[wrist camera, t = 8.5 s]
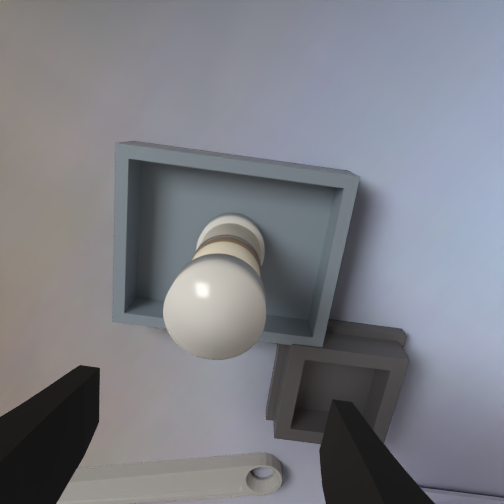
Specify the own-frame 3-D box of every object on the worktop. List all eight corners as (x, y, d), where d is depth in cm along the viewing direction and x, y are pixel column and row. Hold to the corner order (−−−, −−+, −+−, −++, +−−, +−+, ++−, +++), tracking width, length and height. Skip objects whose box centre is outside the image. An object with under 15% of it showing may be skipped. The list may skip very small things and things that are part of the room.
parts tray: (348, 170, 19) (360, 176, 17) (315, 325, 22) (321, 349, 20) (133, 140, 19) (115, 143, 17) (128, 300, 22) (112, 322, 20)
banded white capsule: (268, 216, 20) (272, 274, 12) (260, 277, 21) (258, 365, 13) (203, 208, 19) (165, 261, 12) (198, 269, 21) (160, 353, 13)
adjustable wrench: (280, 443, 26) (282, 465, 24) (282, 511, 28) (283, 536, 26) (-77, 449, 26) (-100, 471, 25) (-50, 516, 28) (-70, 540, 27)
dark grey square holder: (401, 328, 22) (419, 354, 20) (373, 424, 24) (386, 457, 22) (283, 313, 22) (285, 337, 19) (265, 410, 24) (266, 442, 22)
